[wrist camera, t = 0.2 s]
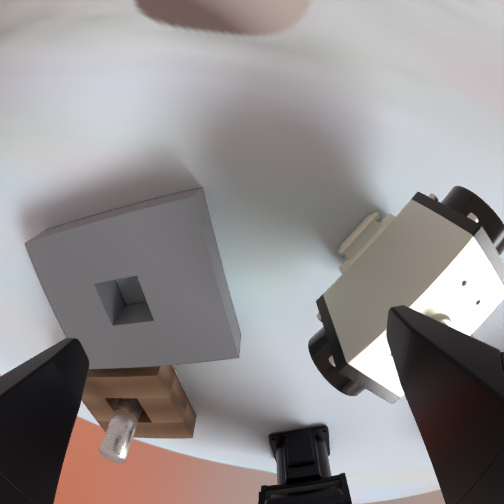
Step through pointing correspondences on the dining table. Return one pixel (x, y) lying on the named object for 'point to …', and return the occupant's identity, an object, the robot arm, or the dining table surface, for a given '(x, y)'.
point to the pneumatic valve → (407, 285)
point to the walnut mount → (141, 399)
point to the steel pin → (121, 430)
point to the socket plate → (151, 281)
